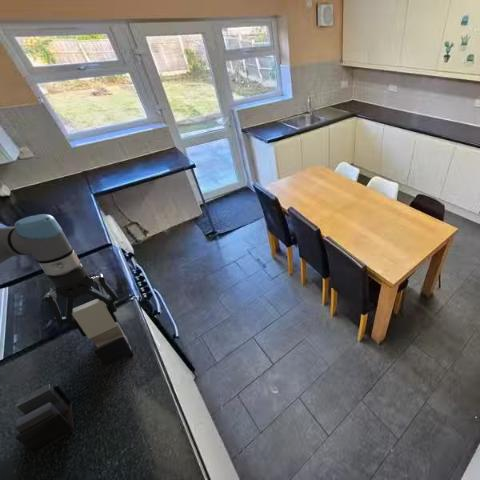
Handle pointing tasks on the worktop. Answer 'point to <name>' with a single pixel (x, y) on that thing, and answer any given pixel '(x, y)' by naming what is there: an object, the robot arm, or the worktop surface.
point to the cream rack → (112, 345)
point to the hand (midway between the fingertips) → (100, 326)
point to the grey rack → (44, 417)
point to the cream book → (93, 318)
